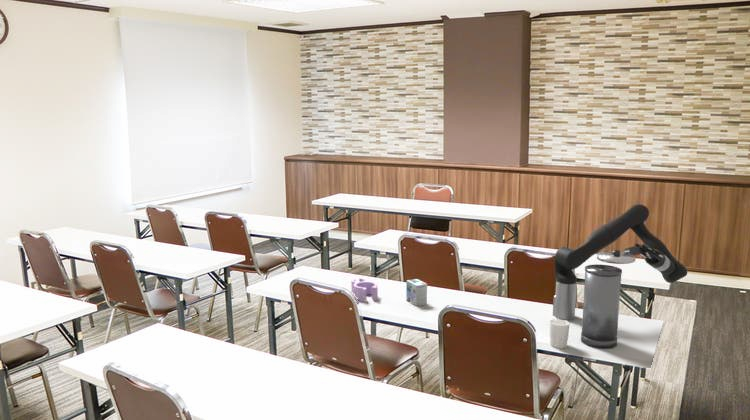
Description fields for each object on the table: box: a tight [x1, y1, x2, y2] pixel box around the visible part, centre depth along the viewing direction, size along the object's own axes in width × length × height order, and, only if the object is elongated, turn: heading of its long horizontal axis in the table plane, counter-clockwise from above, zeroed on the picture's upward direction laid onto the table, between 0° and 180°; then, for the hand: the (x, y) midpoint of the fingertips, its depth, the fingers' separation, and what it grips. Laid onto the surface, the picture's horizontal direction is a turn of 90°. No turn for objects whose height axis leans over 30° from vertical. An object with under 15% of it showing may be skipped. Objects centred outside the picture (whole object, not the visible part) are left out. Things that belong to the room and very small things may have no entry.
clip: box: [351, 277, 379, 302], centre depth 316 cm, size 20×12×7 cm, turn 23°
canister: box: [580, 263, 623, 350], centre depth 250 cm, size 14×14×32 cm
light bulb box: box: [405, 278, 428, 306], centre depth 305 cm, size 11×7×11 cm, turn 25°
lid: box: [596, 243, 648, 265], centre depth 254 cm, size 15×28×4 cm, turn 123°
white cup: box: [549, 318, 570, 349], centre depth 249 cm, size 8×8×10 cm
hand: (638, 245), depth 258 cm, fingers closed on lid, 2 cm apart
